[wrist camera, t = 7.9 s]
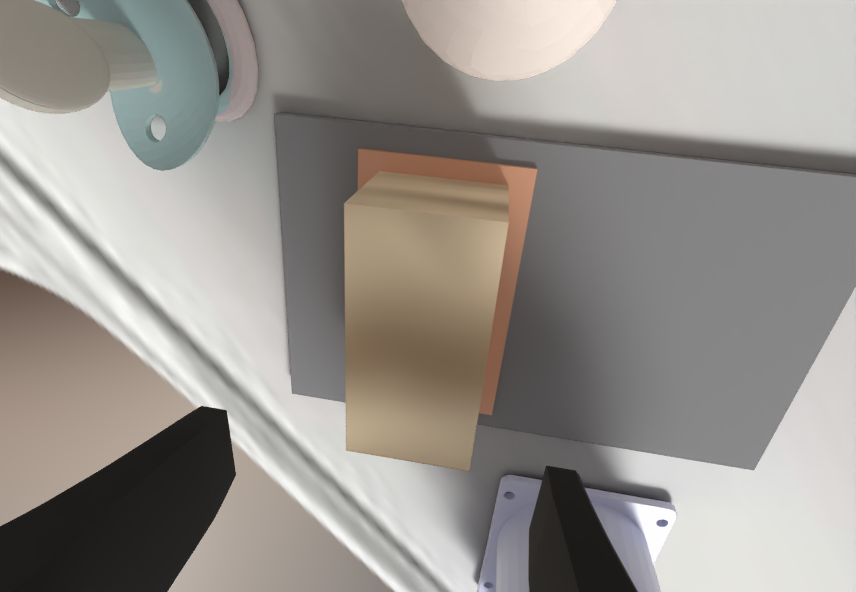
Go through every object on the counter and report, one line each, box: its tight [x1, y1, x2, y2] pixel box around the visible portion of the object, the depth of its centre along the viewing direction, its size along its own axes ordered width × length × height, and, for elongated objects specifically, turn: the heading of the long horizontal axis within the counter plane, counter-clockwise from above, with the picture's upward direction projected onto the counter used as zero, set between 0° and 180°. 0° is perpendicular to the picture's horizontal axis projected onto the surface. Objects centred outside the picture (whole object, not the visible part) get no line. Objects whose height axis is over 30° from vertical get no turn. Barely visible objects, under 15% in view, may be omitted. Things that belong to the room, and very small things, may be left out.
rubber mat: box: [274, 112, 856, 470], centre depth 18 cm, size 12×20×1 cm, turn 86°
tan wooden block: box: [344, 171, 509, 471], centre depth 16 cm, size 9×4×4 cm, turn 176°
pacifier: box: [0, 0, 258, 171], centre depth 14 cm, size 7×6×6 cm
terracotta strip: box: [358, 148, 537, 415], centre depth 18 cm, size 10×6×1 cm, turn 176°
